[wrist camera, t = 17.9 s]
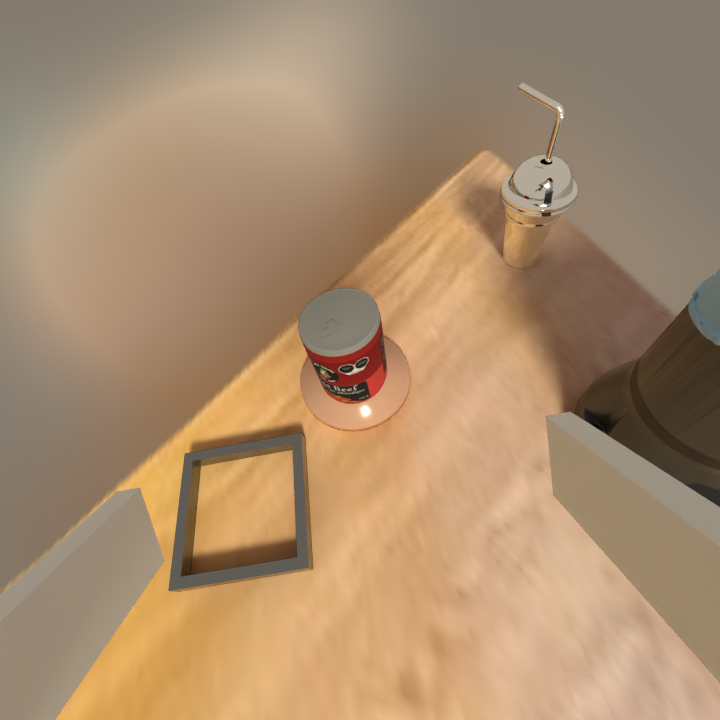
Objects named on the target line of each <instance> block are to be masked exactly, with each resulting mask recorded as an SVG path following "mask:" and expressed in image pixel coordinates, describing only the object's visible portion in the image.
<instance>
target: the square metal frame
mask: <svg viewBox="0 0 720 720" xmlns="http://www.w3.org/2000/svg"><path fill="white" fill-rule="evenodd" d="M288 450H293V465H294V490H295V515H296V540H297V557H296V558H290V559H284V560H278V561H272V562H266V563H260V564H254V565H248V566H242V567H236V568H230V569H224V570H218V571H212V572H206V573H200V574H194V575H191V564H192V553H193V543H194V532H195V521H196V511H197V500H198V489H199V478H200V468H201V466H204V465H209V464H215V463H220V462H226V461H232V460H237V459H243V458H249V457H254V456H260V455H266V454H271V453H277V452H282V451H288ZM307 570H313V557H312V540H311V523H310V506H309V489H308V473H307V456H306V439H305V437H304V436H303V434H302V433H297V434H292V435H286V436H280V437H275V438H269V439H264V440H258V441H253V442H247V443H241V444H236V445H230V446H225V447H219V448H213V449H208V450H202V451H197V452H191V453H186V454H185V456H184V465H183V473H182V482H181V490H180V498H179V507H178V515H177V524H176V532H175V541H174V549H173V558H172V566H171V575H170V583H169V591H176V592H180V591H186V590H192V589H198V588H204V587H210V586H216V585H222V584H228V583H234V582H240V581H246V580H252V579H259V578H265V577H271V576H277V575H283V574H289V573H295V572H301V571H307Z"/></svg>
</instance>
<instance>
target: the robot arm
mask: <svg viewBox="0 0 720 720" xmlns="http://www.w3.org/2000/svg"><path fill="white" fill-rule="evenodd" d="M546 423H547V434H548V444H549V455H550V465H551V476H552V487H553V495H554V496H555V497H556V499H557V500H558V501H559V502H560V503H561V504H562V505H563V506H564V508H565V509H566V510H567V511H568V512H569V513H570V514H571V516H572V517H573V518H574V519H575V520H576V521H577V522H578V523H579V525H580V526H581V527H582V528H583V529H584V530H585V531H586V532H587V534H588V535H589V536H590V537H591V538H592V539H593V540H594V541H595V543H596V544H597V545H598V546H599V547H600V548H601V549H602V550H603V552H604V553H605V554H606V555H607V556H608V557H609V558H610V559H611V561H612V562H613V563H614V564H615V565H616V566H617V567H618V568H619V570H620V571H621V572H622V573H623V574H624V575H625V576H626V577H627V579H628V580H629V581H630V582H631V583H632V584H633V585H634V587H635V588H636V589H637V590H638V591H639V592H640V593H641V594H642V596H643V597H644V598H645V599H646V600H647V601H648V602H649V603H650V605H651V606H652V607H653V608H654V609H655V610H656V611H657V612H658V614H659V615H660V616H661V617H662V618H663V619H664V620H665V621H666V623H667V624H668V625H669V626H670V627H671V628H672V629H673V630H674V632H675V633H676V634H677V635H678V636H679V637H680V638H681V639H682V641H683V642H684V643H685V644H686V645H687V646H688V647H689V649H690V650H691V651H692V652H693V653H694V654H695V655H696V656H697V658H698V659H699V660H700V661H701V662H702V663H703V664H704V665H705V667H706V668H707V669H708V670H709V671H710V672H711V673H712V674H713V676H714V677H715V678H716V679H717V680H718V681H719V682H720V270H719V271H718V272H717V273H716V274H715V275H713V276H711V277H709V278H708V279H707V280H705V281H704V282H703V283H702V284H701V285H700V286H699V287H698V288H697V289H696V290H695V291H694V293H693V294H692V298H691V300H690V302H689V303H688V305H687V306H686V307H685V308H684V309H683V310H682V311H681V313H680V314H679V315H678V316H677V317H676V318H675V319H674V321H673V322H672V323H671V324H670V325H669V326H668V327H667V329H666V330H665V331H664V332H663V333H662V334H661V335H660V336H659V338H658V339H657V340H656V341H655V342H654V343H653V344H652V345H651V346H650V347H649V348H648V350H647V351H646V352H645V353H644V354H643V356H642V357H640V358H638V359H635V360H633V361H631V362H628V363H626V364H623V365H621V366H619V367H616V368H614V369H612V370H610V371H608V372H606V373H604V374H603V375H601V376H600V377H599V378H597V379H596V380H595V381H594V382H593V383H592V384H591V385H590V387H589V388H588V389H587V390H586V392H585V393H584V394H583V396H582V397H581V399H580V401H579V402H578V405H577V407H576V411H575V414H573V413H572V412H566V413H560V414H555V415H549V416H546ZM163 562H164V558H163V555H162V552H161V549H160V546H159V543H158V540H157V537H156V534H155V531H154V528H153V525H152V522H151V519H150V516H149V513H148V511H147V508H146V505H145V502H144V499H143V496H142V493H141V490H140V488H136V489H130V490H124V491H119V492H116V493H115V494H114V495H113V496H112V497H111V498H109V499H108V500H107V501H106V502H105V503H104V504H103V505H102V506H100V507H99V508H98V509H97V510H96V511H95V512H94V513H93V514H91V515H90V516H89V517H88V518H87V519H86V520H85V521H84V522H82V523H81V524H80V525H79V526H78V527H77V528H76V529H75V530H73V531H72V532H71V533H70V534H69V535H68V536H67V537H66V538H64V539H63V540H62V541H61V542H60V543H59V544H58V545H57V546H55V547H54V548H53V549H52V550H51V551H50V552H49V553H48V554H46V555H45V556H44V557H43V558H42V559H41V560H40V561H39V562H37V563H36V564H35V565H34V566H33V567H32V568H31V569H29V570H28V571H27V572H26V573H25V574H24V575H23V576H22V577H20V578H19V579H18V580H17V581H16V582H15V583H14V584H13V585H11V586H10V587H9V588H8V589H7V590H6V591H5V592H4V593H2V594H1V595H0V720H55V719H56V718H57V716H58V715H59V713H60V712H61V711H62V709H63V708H64V706H65V705H66V703H67V702H68V700H69V699H70V697H71V696H72V695H73V693H74V692H75V690H76V689H77V687H78V686H79V684H80V683H81V681H82V680H83V678H84V677H85V676H86V674H87V673H88V671H89V670H90V668H91V667H92V665H93V664H94V662H95V661H96V660H97V658H98V657H99V655H100V654H101V652H102V651H103V649H104V648H105V646H106V645H107V644H108V642H109V641H110V639H111V638H112V636H113V635H114V633H115V632H116V630H117V629H118V628H119V626H120V625H121V623H122V622H123V620H124V619H125V617H126V616H127V614H128V613H129V612H130V610H131V609H132V607H133V606H134V604H135V603H136V601H137V600H138V598H139V597H140V596H141V594H142V593H143V591H144V590H145V588H146V587H147V585H148V584H149V582H150V581H151V579H152V578H153V577H154V575H155V574H156V572H157V571H158V569H159V568H160V566H161V565H162V563H163Z"/></svg>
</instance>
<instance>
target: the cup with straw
mask: <svg viewBox="0 0 720 720" xmlns="http://www.w3.org/2000/svg"><path fill="white" fill-rule="evenodd" d="M518 90H519V91H521V92H523V93H524V94H526V95H528V96H529V97H531V98H533V99H535V100H536V101H538V102H540V103H541V104H543V105H545V106H546V107H548V108H550V109H551V110H553V111H555V112H556V115H557V116H556V117H557V118H556V121H555V125H554V128H553V132H552V135H551V139H550V143H549V146H548V150H547V153H546V154H542V155H537V156H534V157H531V158H529V159H527V160H526V161H524V162H522V163H521V164H520V165H519V166H518V167H517V168H516V169H515V171H514V172H513V173H511V174H510V175H509V176H507V177H506V179H505V180H504V181H503V183H502V186H501V188H500V192H499V194H500V198H501V200H502V202H503V204H504V206H505V215H506V217H505V230H504V242H503V255H502V256H503V260H504V261H505V262H506V263H507V264H508V265H510V266H512V267H516V268H526V267H529V266H531V265H533V264H534V263H535V262H536V260H537V257H538V256H539V255H540V253H541V251H542V249H543V247H544V245H545V243H546V241H547V239H548V237H549V235H550V233H551V231H552V229H553V227H554V225H555V223H556V222H557V221H558V219H559V218H560V216H561V215H562V213H563V212H565V211H567V210H568V209H569V208H571V207H572V206H573V205H574V203H575V202H576V199H577V193H578V187H577V184H576V182H575V181H574V179H573V176H572V172H571V169H570V167H569V166H568V164H567V163H566V162H565V161H564V160H562V159H561V158H559V157H557V156H554V155H553V153H554V150H555V147H556V144H557V140H558V137H559V133H560V130H561V126H562V123H563V120H564V109H563V107H562V106H561V105H560V104H559V103H557V102H556V101H554V100H552V99H550V98H549V97H547V96H545V95H543V94H542V93H540V92H538V91H537V90H535V89H533V88H531V87H529V86H528V85H526V84H524V83H521V85H520V86H519V87H518Z"/></svg>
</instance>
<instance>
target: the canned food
mask: <svg viewBox="0 0 720 720" xmlns="http://www.w3.org/2000/svg"><path fill="white" fill-rule="evenodd" d="M298 329H299V334H300V338H301V340H302V342H303V345H304V347H305V349H306V352H307V354H308V356H309V358H310V360H311V362H312V365H313V367H314V369H315V371H316V373H317V376H318V378H319V380H320V382H321V384H322V386H323V389H324V390H325V392H326V393H327V394H328V395H329V396H330V397H332V398H333V399H335V400H337V401H339V402H341V403H345V404H356V403H361V402H364V401H366V400H368V399H370V398H372V397H373V396H374V395H376V394H377V393H378V391H379V390H380V389H381V387H382V386H383V384H384V382H385V379H386V377H387V361H386V354H385V346H384V338H383V331H382V323H381V318H380V312H379V309H378V306H377V304H376V302H375V301H374V299H373V298H372V297H371V296H370V295H369V294H367V293H365V292H363V291H361V290H358V289H353V288H339V289H333V290H330V291H327V292H325V293H323V294H320V295H319V296H317V297H316V298H314V299H313V300H312V301H311V302H310V303H308V305H307V306H306V307H305V308H304V310H303V312H302V313H301V316H300V319H299V325H298Z"/></svg>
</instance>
